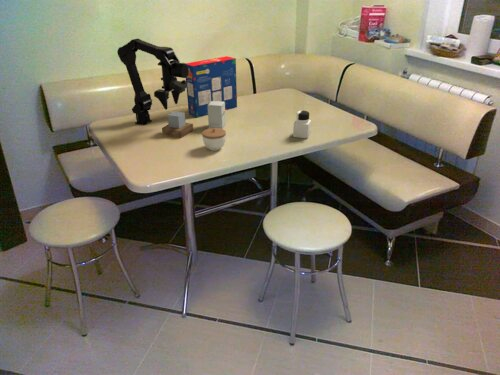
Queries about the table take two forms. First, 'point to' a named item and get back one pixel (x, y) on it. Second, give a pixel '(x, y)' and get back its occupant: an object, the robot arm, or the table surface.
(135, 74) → the robot arm
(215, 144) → the lidded jar
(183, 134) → the walnut block
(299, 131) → the medicine bottle
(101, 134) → the table surface
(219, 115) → the supplement box
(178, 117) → the slate cube
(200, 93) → the blue board game box
